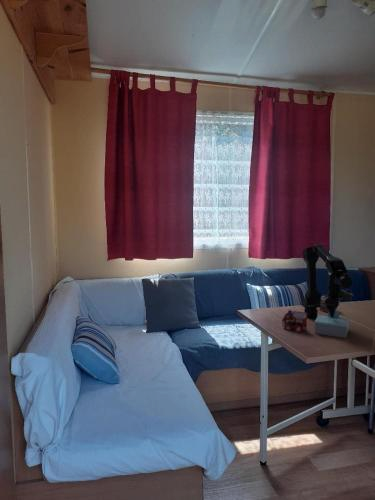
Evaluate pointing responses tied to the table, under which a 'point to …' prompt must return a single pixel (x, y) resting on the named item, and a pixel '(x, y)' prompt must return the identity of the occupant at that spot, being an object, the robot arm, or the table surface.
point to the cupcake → (323, 304)
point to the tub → (331, 330)
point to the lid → (332, 320)
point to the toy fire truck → (295, 321)
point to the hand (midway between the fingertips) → (333, 314)
